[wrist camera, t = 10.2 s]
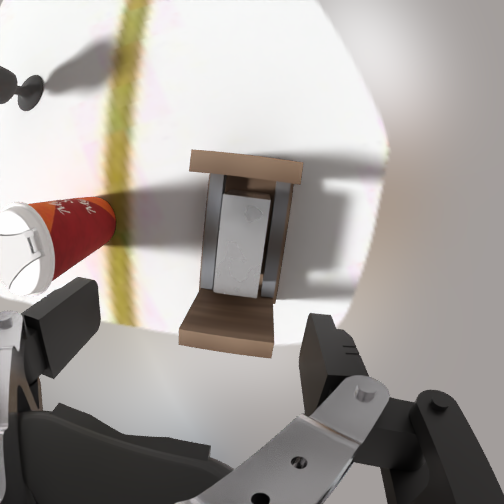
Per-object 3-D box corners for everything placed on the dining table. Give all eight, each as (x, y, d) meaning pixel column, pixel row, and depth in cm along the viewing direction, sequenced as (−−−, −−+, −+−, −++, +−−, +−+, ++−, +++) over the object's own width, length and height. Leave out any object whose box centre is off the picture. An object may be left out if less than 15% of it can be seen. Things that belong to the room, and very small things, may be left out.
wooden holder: (213, 156, 29) (184, 149, 18) (295, 166, 29) (311, 163, 18) (200, 289, 33) (172, 343, 22) (274, 299, 32) (277, 359, 22)
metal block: (231, 189, 29) (223, 194, 23) (269, 194, 29) (270, 200, 23) (223, 269, 31) (213, 292, 25) (258, 274, 31) (256, 298, 25)
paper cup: (113, 177, 30) (25, 189, 16) (133, 244, 32) (58, 292, 18) (62, 200, 31) (-25, 223, 17) (81, 261, 33) (4, 308, 19)
